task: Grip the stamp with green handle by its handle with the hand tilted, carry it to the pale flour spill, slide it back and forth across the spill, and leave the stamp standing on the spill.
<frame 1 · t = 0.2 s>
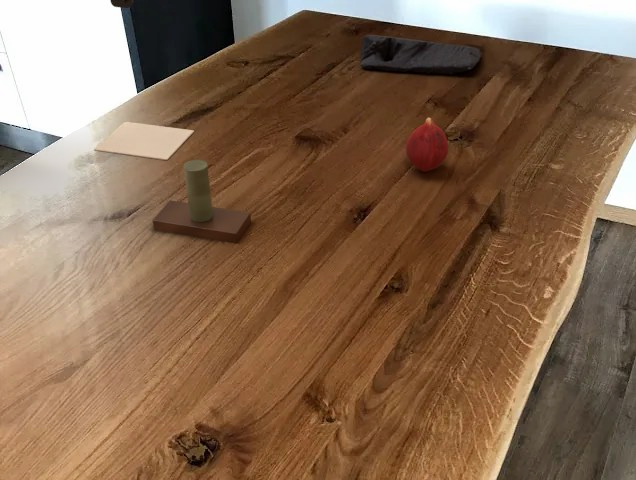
dark slate chunk: (419, 62, 138), on the table
onion: (424, 172, 105), on the table
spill: (145, 140, 112), on the table
stamp with green handle: (204, 235, 92), on the table
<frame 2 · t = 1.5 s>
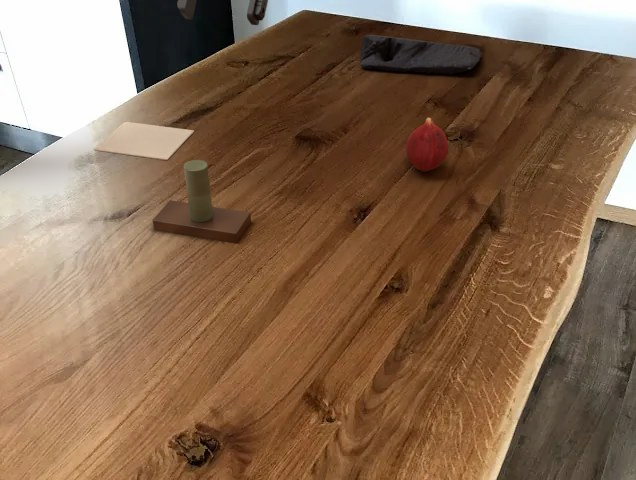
hand: (218, 19, 85), 23 cm above the table, tool tilted 45°, fingers open, 8 cm apart
nothing on the table moved.
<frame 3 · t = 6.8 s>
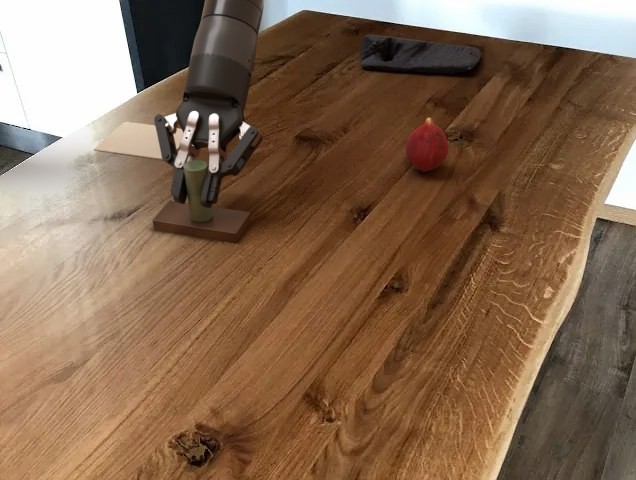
hand: (192, 203, 87), 6 cm above the table, tool tilted 45°, fingers closed on stamp with green handle, 3 cm apart
stamp with green handle: (204, 235, 92), on the table, touching gripper
everything else where it was.
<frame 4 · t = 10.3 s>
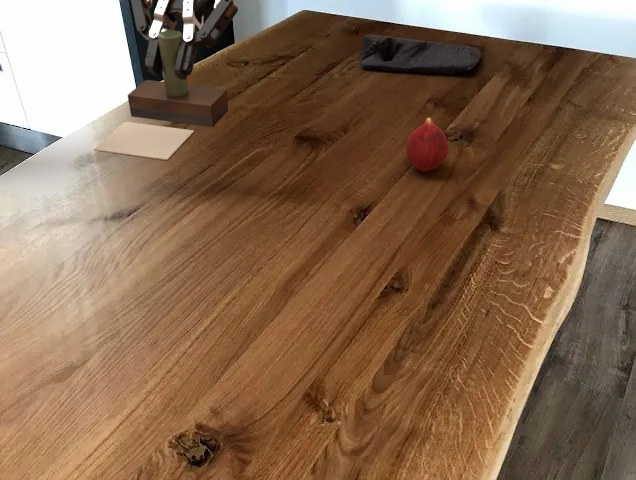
hand: (167, 74, 86), 18 cm above the table, tool tilted 45°, fingers closed on stamp with green handle, 3 cm apart
stamp with green handle: (180, 113, 91), point 12 cm above the table, touching gripper
everything else where it was.
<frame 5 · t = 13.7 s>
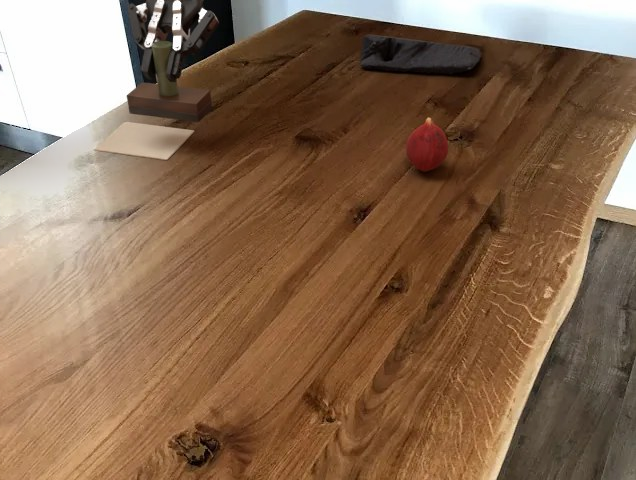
hand: (159, 78, 103), 11 cm above the table, tool tilted 45°, fingers closed on stamp with green handle, 3 cm apart
stamp with green handle: (171, 110, 108), point 5 cm above the table, touching gripper
everything else where it was.
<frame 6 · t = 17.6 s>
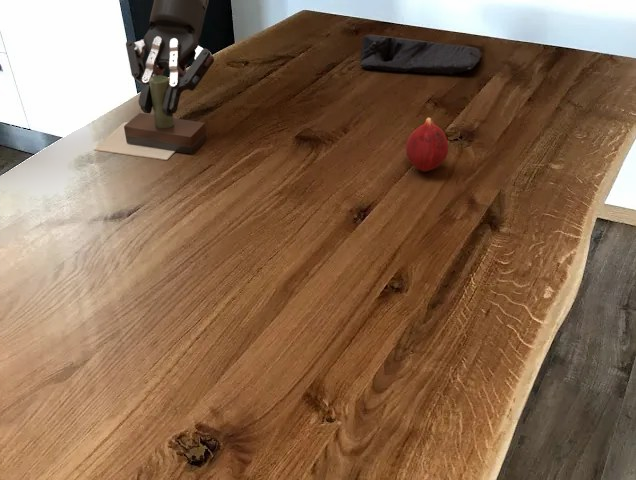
hand: (156, 112, 107), 6 cm above the table, tool tilted 45°, fingers closed on stamp with green handle, 3 cm apart
stamp with green handle: (166, 141, 112), on the table, touching gripper, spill
everything else where it was.
when the fingers open (6 cm above the table, at t = 20.8 s): stamp with green handle stays where it is, resting on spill.
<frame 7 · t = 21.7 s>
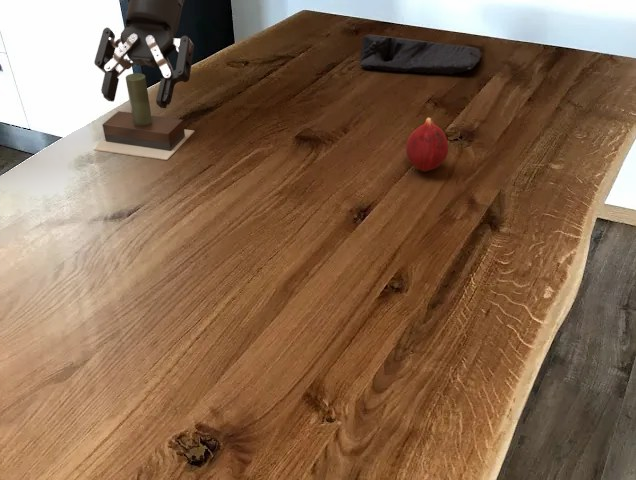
hand: (134, 102, 107), 7 cm above the table, tool tilted 45°, fingers open, 8 cm apart
stamp with green handle: (145, 139, 112), resting on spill
everything else where it was.
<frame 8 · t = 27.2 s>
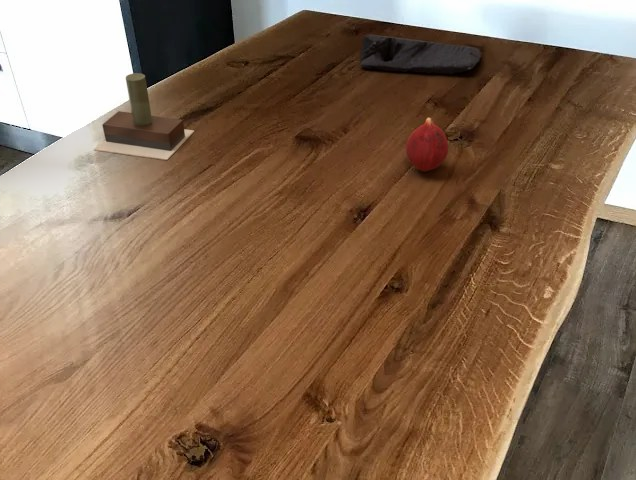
nothing on the table moved.
at the end: stamp with green handle inside the target area on the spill (0.2 cm from its centre), point 0.2 cm above the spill's base; stamp with green handle tilted 0°; stamp with green handle moved 29.2 cm from its start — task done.
